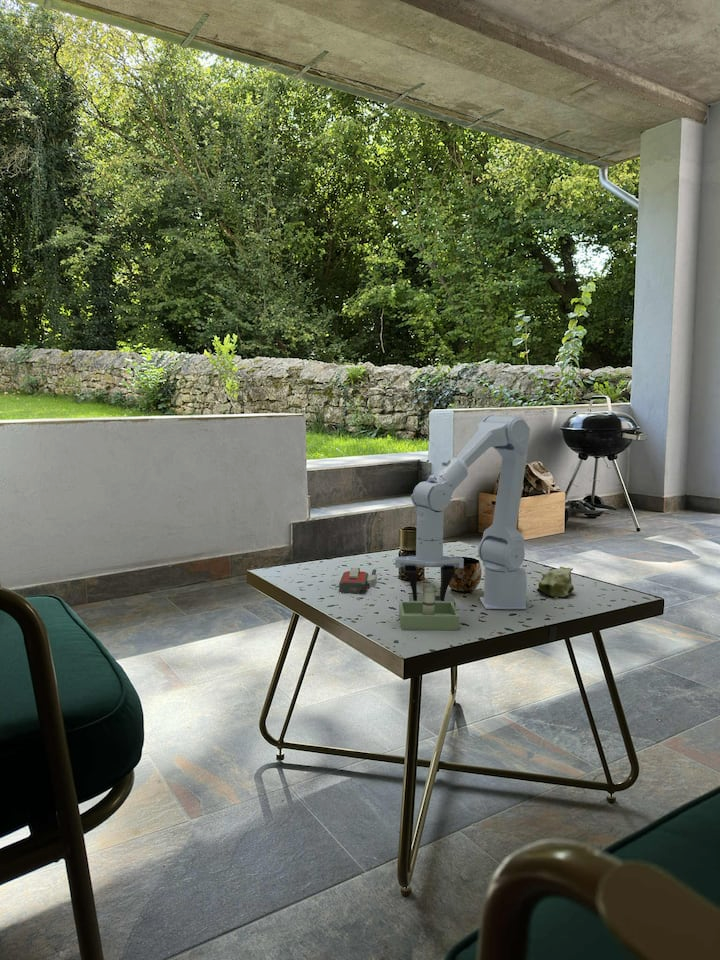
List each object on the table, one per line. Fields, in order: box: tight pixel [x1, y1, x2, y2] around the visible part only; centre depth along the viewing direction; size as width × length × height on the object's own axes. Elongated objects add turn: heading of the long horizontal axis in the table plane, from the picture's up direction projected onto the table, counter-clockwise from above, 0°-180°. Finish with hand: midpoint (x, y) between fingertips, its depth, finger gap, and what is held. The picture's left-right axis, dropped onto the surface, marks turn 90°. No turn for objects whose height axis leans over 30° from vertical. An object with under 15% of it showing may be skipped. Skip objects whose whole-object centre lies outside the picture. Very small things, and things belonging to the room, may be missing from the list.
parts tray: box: [398, 601, 460, 631], centre depth 156 cm, size 12×10×3 cm
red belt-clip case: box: [338, 567, 377, 595], centre depth 186 cm, size 9×4×20 cm
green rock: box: [536, 566, 575, 598], centre depth 177 cm, size 9×9×8 cm
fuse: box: [422, 583, 436, 615], centre depth 156 cm, size 3×3×8 cm
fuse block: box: [408, 593, 457, 609], centre depth 167 cm, size 10×7×2 cm
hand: (428, 599), depth 156 cm, fingers open, 5 cm apart
